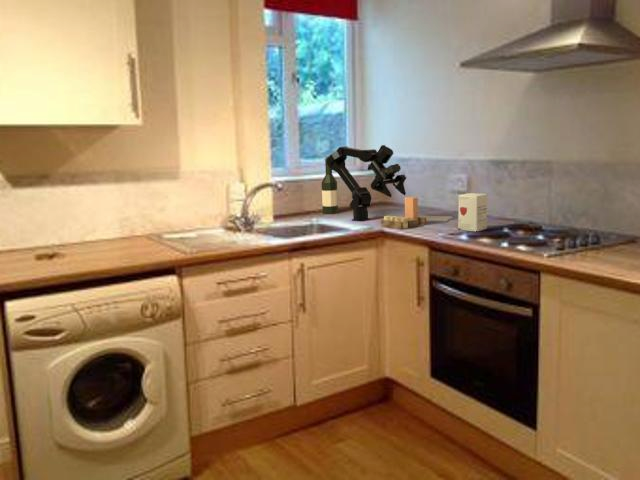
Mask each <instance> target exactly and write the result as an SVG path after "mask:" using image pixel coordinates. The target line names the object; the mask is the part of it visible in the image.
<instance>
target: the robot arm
mask: <svg viewBox="0 0 640 480" xmlns="http://www.w3.org/2000/svg"><path fill="white" fill-rule="evenodd" d="M393 155H394V151H393V149H392V148H390V147H388V146H386V144H383V145H381V146H380V148H379V149H378V150H377V149H374V148H373V149H359V148H355V147H354V148H353V147H348V146H339V147H338V148H337V149H336V150H335V151H334V152H332V153H331V154H330V155H329V156H327V157H328V158H327V165H328V166H329V167H330V168H331V169H332V171H333V172H336V173H337V174H338V176H339V177H340V179H341V180H342V181H343V182H344V184H345V185H346V187H347V189H349V191H350V192H351V198H352V200H351V202H350V203H349V207H350V209H352V212H353V213H352V214H353V215H352V217H353V218H351V221H356V220H357V221H356V222H362V221H363V222H365V221H369V220H370V218H369V210H368V207H370V206H371V202H372V195H371V192H370V191H369V190H368V187H367V186H364V187H363V186H362V187H361V186H360V185H359V183H358V182H357V180H356V179H355V178H354V176H353V175H352V173H350V171H349V170H348V168H347V167H346V160H347V158H348V157H352V158H356V159H359V160H360V162H361V161H362V162H363V163H369V164H367V165H368V166H367V171H373V173H374V174H375V176H374V179H373V180H372V181H371V183H370V188H371V190H372V191H376V192H378V193H381V194H383V195H385V196H387V197H389V198H392V197H393V196H392V195H393V194H392V193H391V191H390V190H389V188H388V187H387V185H393V187H394V188H395V189H396V190H397V191H398V192H400V193H401V194H402V195H403V196H406V195H407V193H406V189H405V181H406V180H407V176H406V175H405V174H397V175H395V174H396V173H399V172H400V171H401V170H402V169H401V165H399V163H395V164H390V165H389V166H387V167H386V166H385V165H384V164H386V165H387V163H388V162H389V161H390V159H391V158H392V156H393Z"/></svg>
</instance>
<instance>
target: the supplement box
mask: <svg viewBox="0 0 640 480" xmlns="http://www.w3.org/2000/svg"><path fill="white" fill-rule="evenodd" d="M457 221H458V225H457V227H458V230H459V231H468V232H476V231H477V232H480V231H483V230H486V229H488V225H487V224H488V193H473V192H472V193H471V192H469V193H464V194H459V195H458V220H457Z"/></svg>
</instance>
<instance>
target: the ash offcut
mask: <svg viewBox="0 0 640 480" xmlns="http://www.w3.org/2000/svg"><path fill="white" fill-rule="evenodd" d="M395 217H398V216H396V215H384V216H383V220H388V221H395Z"/></svg>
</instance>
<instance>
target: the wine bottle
mask: <svg viewBox="0 0 640 480" xmlns="http://www.w3.org/2000/svg"><path fill="white" fill-rule="evenodd" d="M328 157H329V156H326V157H325V159H324V161H325V163H324V165H325V175H324V177H323V179H322V181H321V195H322V196H321V201H322V214H323V215H335V214H338V213H339V201H338V200H339V198H338V196H339V195H338V180H337V179H336V178H335V176H334V175H333V170H332V169H331V168H330V167H329V166H328V165H327V158H328Z"/></svg>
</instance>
